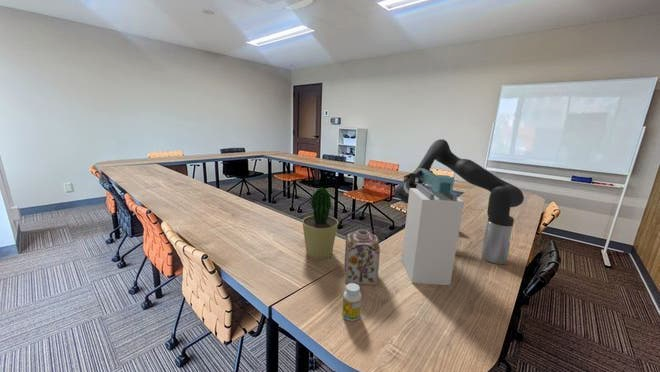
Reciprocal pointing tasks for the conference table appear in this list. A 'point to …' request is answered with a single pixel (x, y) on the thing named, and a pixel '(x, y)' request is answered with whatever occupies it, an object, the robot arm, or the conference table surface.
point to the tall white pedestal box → (431, 235)
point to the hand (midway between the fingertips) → (426, 172)
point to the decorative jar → (361, 258)
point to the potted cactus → (320, 226)
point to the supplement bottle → (351, 302)
